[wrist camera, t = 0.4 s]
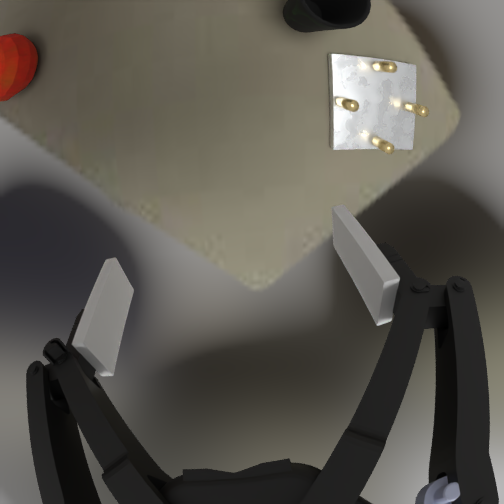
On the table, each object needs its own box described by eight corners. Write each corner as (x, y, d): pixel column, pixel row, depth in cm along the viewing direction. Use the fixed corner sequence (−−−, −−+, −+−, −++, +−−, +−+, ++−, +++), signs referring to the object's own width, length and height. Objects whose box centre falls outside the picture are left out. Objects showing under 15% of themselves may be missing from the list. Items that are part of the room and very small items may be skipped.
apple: (-6, 86, 26) (-52, 100, 16) (17, 29, 22) (-30, 29, 12) (32, 103, 30) (-14, 120, 20) (58, 42, 25) (13, 40, 16)
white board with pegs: (327, 54, 32) (343, 52, 28) (410, 64, 33) (431, 67, 28) (329, 146, 40) (344, 157, 35) (407, 146, 41) (426, 157, 36)
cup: (337, 4, 27) (378, -13, 18) (321, 47, 31) (359, 40, 22) (284, -16, 26) (310, -46, 16) (267, 27, 29) (288, 9, 20)
